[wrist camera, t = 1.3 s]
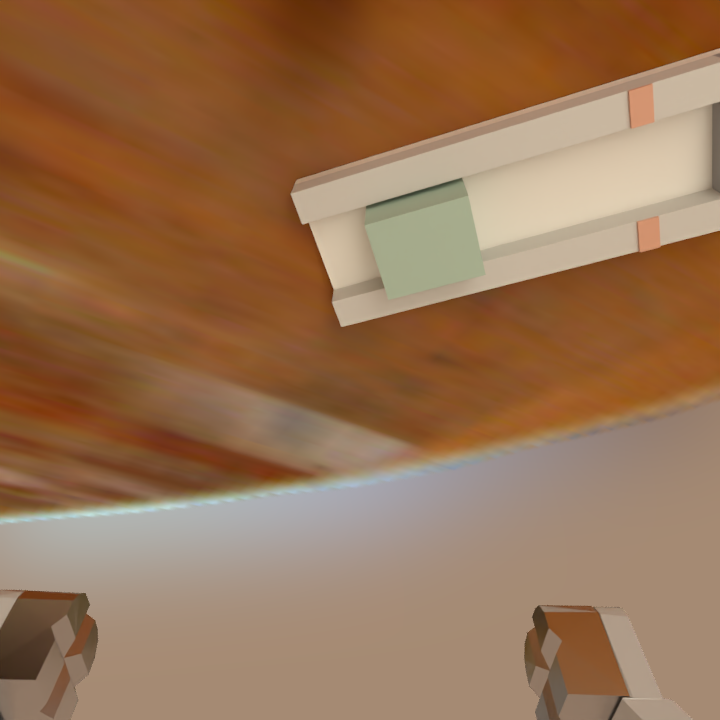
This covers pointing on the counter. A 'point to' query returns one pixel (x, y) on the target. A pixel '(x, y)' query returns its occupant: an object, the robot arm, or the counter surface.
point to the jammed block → (424, 239)
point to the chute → (539, 185)
